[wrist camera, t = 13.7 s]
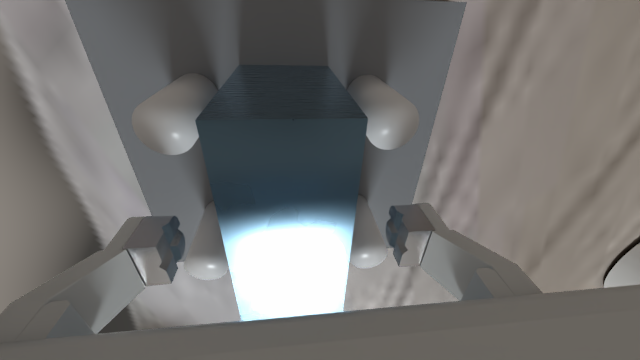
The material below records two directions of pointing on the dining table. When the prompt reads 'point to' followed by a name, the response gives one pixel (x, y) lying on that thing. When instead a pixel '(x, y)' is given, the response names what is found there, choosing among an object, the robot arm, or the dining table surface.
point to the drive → (284, 185)
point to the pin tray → (267, 49)
